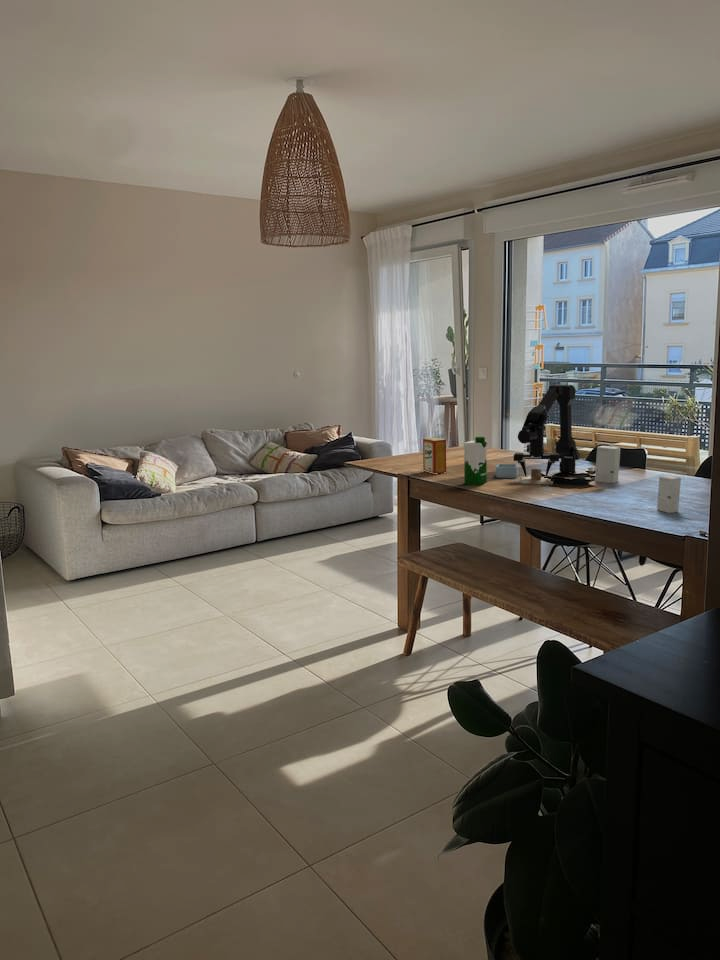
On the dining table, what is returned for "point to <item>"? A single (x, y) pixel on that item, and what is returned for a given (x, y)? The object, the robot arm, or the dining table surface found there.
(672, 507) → the skincare box
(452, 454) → the dining table surface
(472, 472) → the milk carton
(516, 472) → the light blue storage bin
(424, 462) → the baking soda box
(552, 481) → the mat
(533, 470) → the lid
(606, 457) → the skincare box
